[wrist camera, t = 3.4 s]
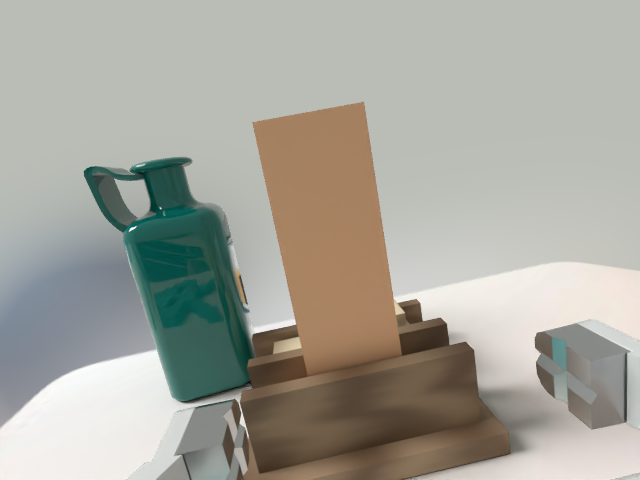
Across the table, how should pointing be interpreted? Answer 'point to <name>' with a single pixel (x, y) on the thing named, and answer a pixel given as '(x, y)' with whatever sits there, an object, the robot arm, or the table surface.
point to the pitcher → (183, 277)
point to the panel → (330, 235)
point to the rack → (368, 410)
